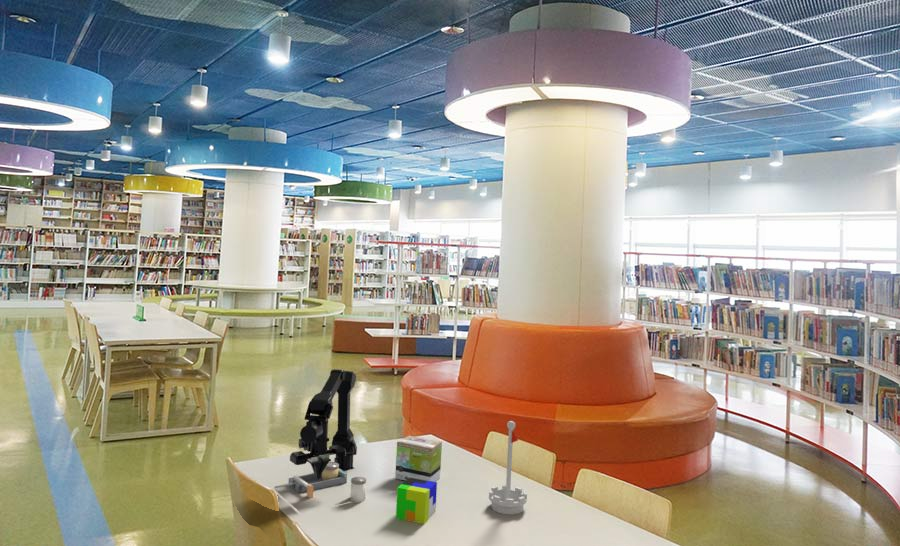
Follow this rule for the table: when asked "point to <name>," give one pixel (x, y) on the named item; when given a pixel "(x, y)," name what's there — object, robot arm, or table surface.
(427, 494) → the puzzle toy
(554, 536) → the table surface
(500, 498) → the flag stand
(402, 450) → the tea box
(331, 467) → the ochre jar
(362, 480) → the white jar
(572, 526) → the table surface
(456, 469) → the table surface
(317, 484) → the grey flat frame
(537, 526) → the table surface
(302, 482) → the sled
